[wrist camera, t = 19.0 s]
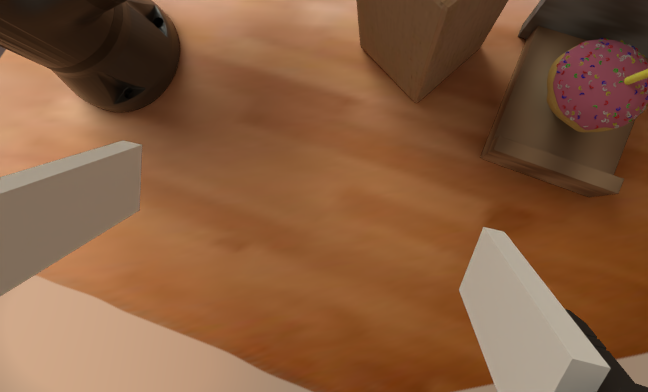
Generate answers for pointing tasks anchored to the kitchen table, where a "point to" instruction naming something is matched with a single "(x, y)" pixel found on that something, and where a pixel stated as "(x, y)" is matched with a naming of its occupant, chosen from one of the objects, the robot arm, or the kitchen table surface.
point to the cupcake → (598, 85)
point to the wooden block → (424, 37)
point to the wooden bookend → (534, 112)
